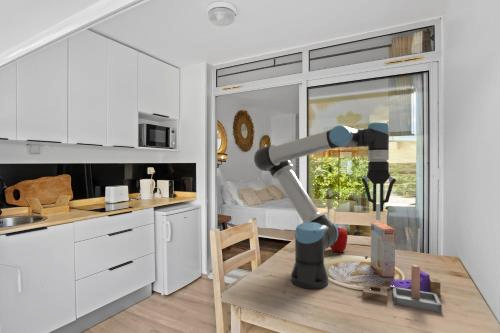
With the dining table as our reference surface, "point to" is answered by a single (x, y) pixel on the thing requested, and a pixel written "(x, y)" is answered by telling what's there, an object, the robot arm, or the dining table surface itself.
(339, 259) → the dining table surface
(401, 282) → the bracket
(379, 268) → the cracker box
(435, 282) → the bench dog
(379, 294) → the dowel block
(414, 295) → the dowel
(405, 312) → the dining table surface
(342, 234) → the apple
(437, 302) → the tray
